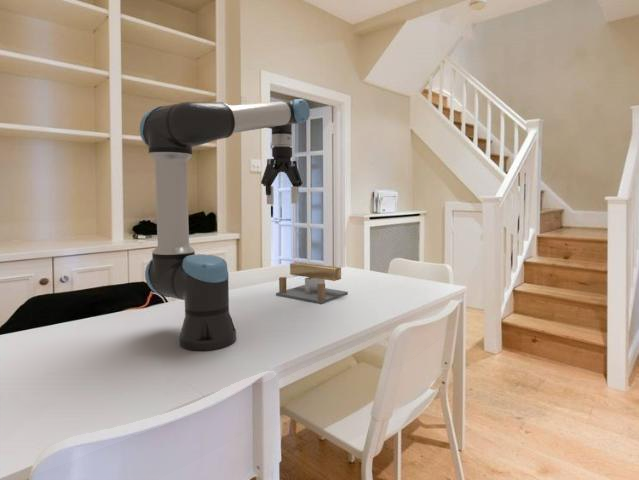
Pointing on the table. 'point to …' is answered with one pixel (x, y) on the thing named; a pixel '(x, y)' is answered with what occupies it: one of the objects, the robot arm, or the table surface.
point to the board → (317, 297)
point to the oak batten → (315, 271)
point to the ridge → (312, 285)
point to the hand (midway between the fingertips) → (282, 203)
